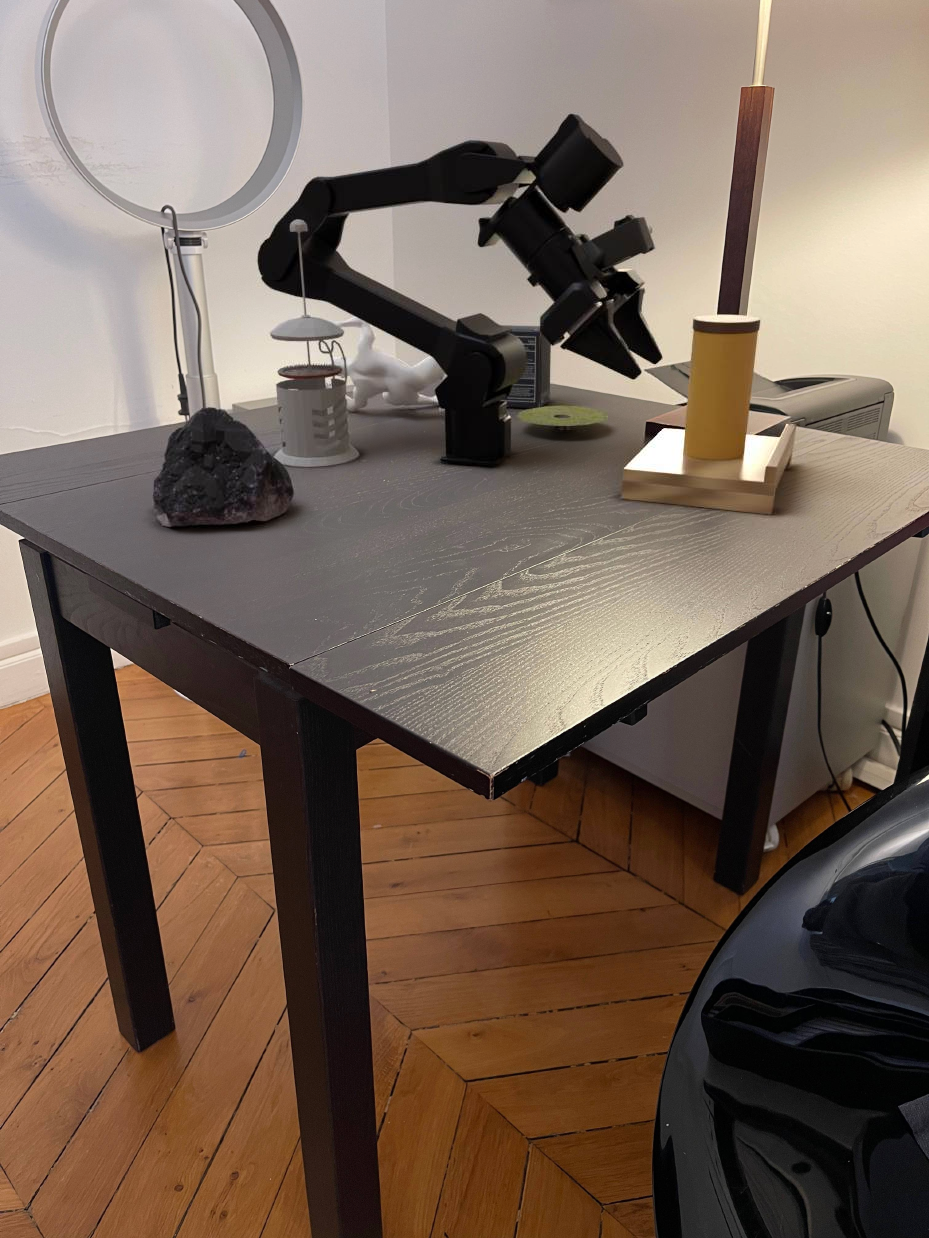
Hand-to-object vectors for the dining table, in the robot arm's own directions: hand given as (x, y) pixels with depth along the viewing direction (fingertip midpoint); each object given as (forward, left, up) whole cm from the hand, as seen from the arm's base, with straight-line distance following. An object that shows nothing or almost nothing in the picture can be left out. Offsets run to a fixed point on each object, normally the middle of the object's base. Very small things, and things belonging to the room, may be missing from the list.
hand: (649, 368), depth 93 cm
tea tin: (+7, -1, -8) cm, 11 cm away
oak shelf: (+7, -1, -11) cm, 13 cm away
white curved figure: (-37, +20, -11) cm, 44 cm away
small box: (-24, +31, -11) cm, 41 cm away
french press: (-37, -2, -11) cm, 39 cm away
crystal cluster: (-36, -24, -11) cm, 44 cm away
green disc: (-13, +17, -11) cm, 24 cm away
